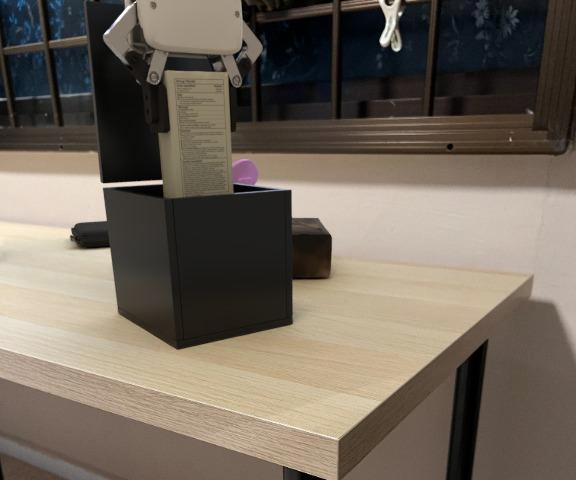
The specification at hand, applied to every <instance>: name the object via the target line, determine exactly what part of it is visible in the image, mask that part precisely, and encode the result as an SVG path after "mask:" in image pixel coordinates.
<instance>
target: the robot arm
mask: <svg viewBox="0 0 576 480" xmlns="http://www.w3.org/2000/svg"><path fill="white" fill-rule="evenodd" d="M124 5H125V10H124V12H123V13H122V14H121V15H120V16H119V17H118V18H117V20H116V21H115V22H114V23H113V24H112V25H111V27H110V28H109V29H108V30H107V31H106V32H105V34H104V35H103V39H104V42H105V43H106V44H107V45H108V47H109V48H110V49H111V50H112V51H113V52H114V54H115V55H116V56H117V57H119V59H120V60H121V62H122V64H123V65H124V66H125V67H126V68H127V69H128V71H129V72H130V73H131V74H132V75H133V76H134V77H135V78H136V81H137V83H138V84H139V85H140V86H142V89H143V100H144V111H145V120H146V122H147V124H149V127H150V132H151V133H168V131H170V121H169V110H168V98H167V89H166V87H165V85H161V76H162V73H163V69H164V66H165V63H166V59H167V57H182V58H201V59H208V61H209V63H210V66H211V68H212V71H213V72H228V84H229V107H230V129H231V133H236V132H237V123H238V119H239V115H238V113H239V112H238V110H239V109H238V92H237V91H238V88H240V87H241V86H242V83H243V79H245V77H246V76H247V75H248V73H249V72H250V71H251V69H252V66H253V64H254V63H255V62H256V61H257V59H258V57H260V55H261V53H262V52H263V49H264V47H263V44H262V43H261V41H260V40H259V38H257V36H256V35H255V34H254V32H253V31H252V30H251V28H250V27H249V25H248V24H247V23H246V22H245V20H244V19H243V10H242V0H124ZM127 39H128V40H127ZM238 52H239V55H238V57H237V58H236V59H235V57H234V55H235V54H236V53H238ZM139 53H140V54H143V56H142V57H141V56H140V54H139Z"/></svg>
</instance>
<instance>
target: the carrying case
mask: <svg viewBox="0 0 576 480" xmlns="http://www.w3.org/2000/svg"><path fill="white" fill-rule="evenodd" d="M70 232H71V234H70V235H69V239H70V241H71V242H75V243H77V244H81V245H82V246H83V247H84V248H99V247H102V248H103V247H110V243H109V235H108V227H107V220H101V221H99V220H98V221H86V222H85V221H84V222H77V223H75V224H74V226H73V227H71V229H70Z"/></svg>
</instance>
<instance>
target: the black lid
mask: <svg viewBox="0 0 576 480" xmlns="http://www.w3.org/2000/svg"><path fill="white" fill-rule="evenodd" d="M124 10H125V3H124V4H123V3H113V2H103V1H94V0H93V1H92V0H84V1H83V12H84V23H85V33H86V34H85V35H86V43H87V55H88V65H89V74H90V86H91V96H92V106H93V118H94V127H95V139H96V148H97V149H96V150H97V159H98V169H99V179H100V183H101V184H119V183H135V182H152V181H153V182H154V181H163V180H162V169H161V158H160V146H159V135H158V133H151V132H150V127H149V124H147V122H146V120H145V111H144V100H143V89H142V86H140V85H139V84H138V83H137V81H136V78H135V77H134V76H133V75H132V74H131V73H130V72H129V71H128V69H127V68H126V67H125V66H124V65H123V64H122V62H121V60H120V59H119V57H117V56H116V55H115V54H114V52H113V51H112V50H111V49H110V48H109V47H108V45H107V44H106V43H105V42H104V39H103V35H104V34H105V32H106V31H107V30H108V29H109V28H110V27H111V25H112V24H113V23H114V22H115V21H116V20H117V18H118V17H119V16H120V15H121V14H122V13H123V12H124ZM127 40H128V39H127ZM139 54H140V53H139ZM140 56H141V57H142V56H143V54H140ZM168 70H169V71H201V72H213V71H212V68H211V66H210V63H209V61H208V59H201V58H182V57H167V59H166V63H165V66H164V69H163V71H168Z"/></svg>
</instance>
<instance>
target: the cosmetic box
mask: <svg viewBox="0 0 576 480" xmlns="http://www.w3.org/2000/svg"><path fill="white" fill-rule="evenodd" d="M161 85H165V87H166V89H167V98H168V110H169V121H170V131H168V133H158V135H159V146H160V158H161V169H162V180H161V181H162V184H163V192H164V198H177V197H191V196H204V195H217V194H230V193H233V173H232V164H233V154H232V152H233V151H232V132H231V129H230V107H229V84H228V72H201V71H169V70H168V71H163V73H162V76H161Z"/></svg>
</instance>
